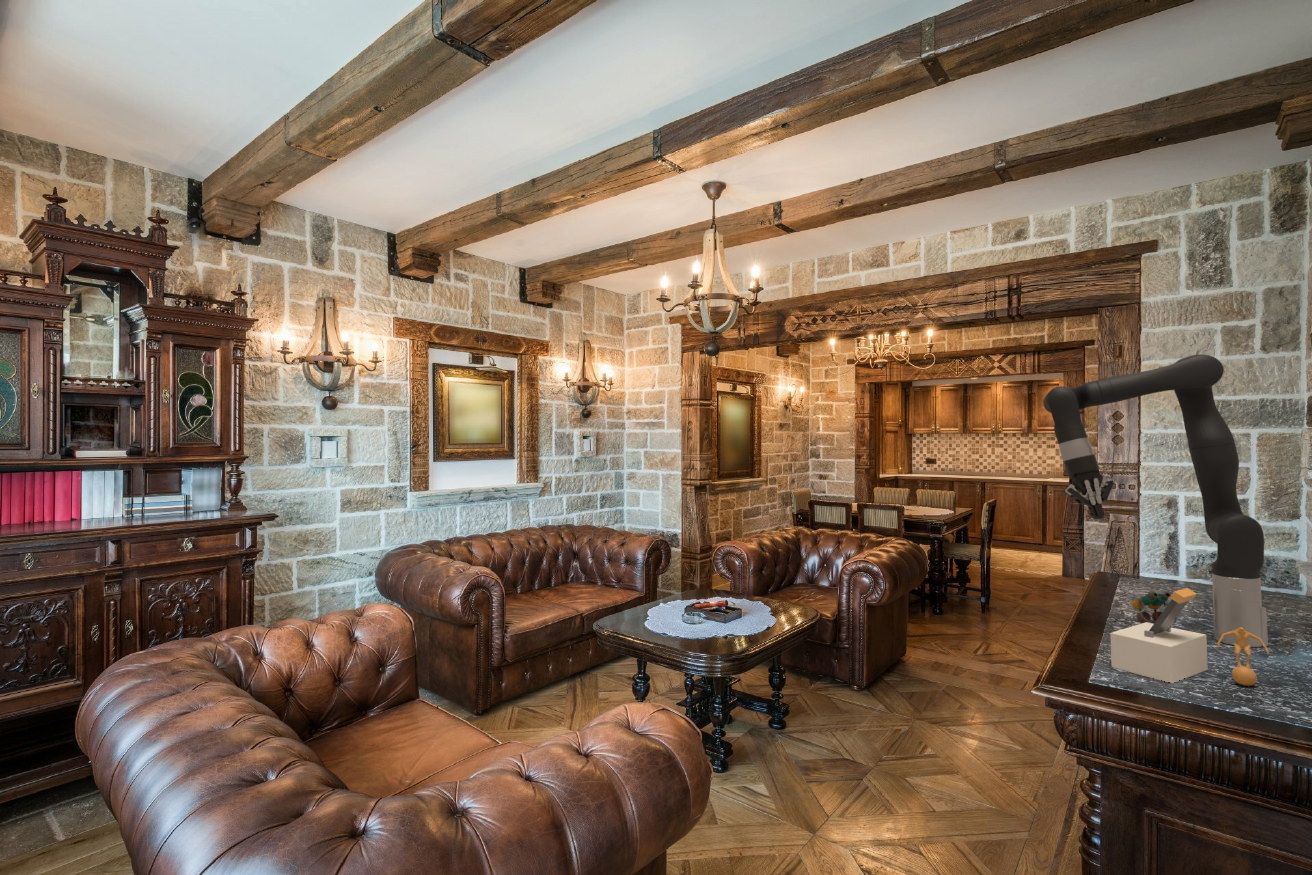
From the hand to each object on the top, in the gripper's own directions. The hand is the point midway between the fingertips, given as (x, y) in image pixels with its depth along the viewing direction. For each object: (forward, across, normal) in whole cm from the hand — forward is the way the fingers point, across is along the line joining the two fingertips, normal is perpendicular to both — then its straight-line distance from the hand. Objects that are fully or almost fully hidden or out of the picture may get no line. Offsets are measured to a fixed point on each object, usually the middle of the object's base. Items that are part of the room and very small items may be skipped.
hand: (1099, 518), depth 170 cm
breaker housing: (+35, -9, -17) cm, 40 cm away
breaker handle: (+27, -7, -19) cm, 33 cm away
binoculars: (+32, +16, +17) cm, 40 cm away
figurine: (+39, +1, -26) cm, 47 cm away
